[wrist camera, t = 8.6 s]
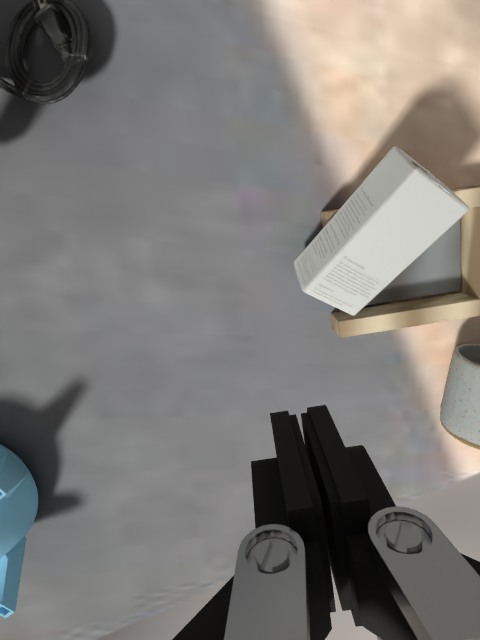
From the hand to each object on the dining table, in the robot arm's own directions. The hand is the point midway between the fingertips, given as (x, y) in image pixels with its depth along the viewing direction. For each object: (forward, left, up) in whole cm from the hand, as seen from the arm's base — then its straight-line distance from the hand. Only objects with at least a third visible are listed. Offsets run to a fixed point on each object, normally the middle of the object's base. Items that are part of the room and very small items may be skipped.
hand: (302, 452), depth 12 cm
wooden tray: (-14, 0, -27) cm, 30 cm away
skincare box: (-5, +1, -24) cm, 25 cm away
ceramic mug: (-21, +14, -27) cm, 37 cm away
